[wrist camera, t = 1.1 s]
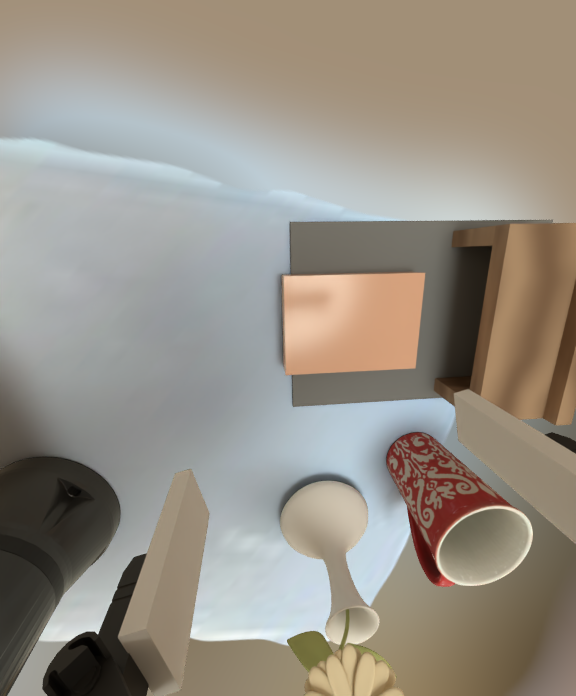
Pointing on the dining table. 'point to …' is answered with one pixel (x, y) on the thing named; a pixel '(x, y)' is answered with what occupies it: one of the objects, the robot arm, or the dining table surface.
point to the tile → (351, 321)
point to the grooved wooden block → (525, 322)
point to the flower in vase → (336, 594)
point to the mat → (437, 306)
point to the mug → (456, 515)
